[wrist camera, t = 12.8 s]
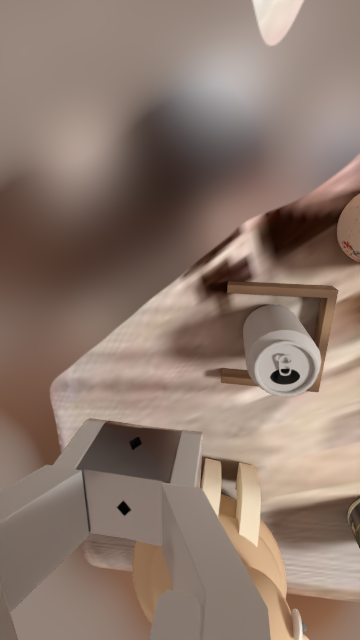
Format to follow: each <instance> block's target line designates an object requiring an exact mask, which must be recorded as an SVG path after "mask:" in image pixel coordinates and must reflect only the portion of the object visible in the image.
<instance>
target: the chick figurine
mask: <svg viewBox="0 0 360 640" xmlns="http://www.w3.org/2000/svg"><path fill="white" fill-rule="evenodd" d="M201 489H203V491H204V493H205V494H206V496H207V498H208V500H209V502H210V504H211V505H212V507H213V509H214V511H215V513H216V515H217V516H218V518H219V520H220V522H221V524H222V525H223V527H224V529H225V531H226V533H227V535H228V536H229V538H230V540H231V542H232V544H233V546H234V547H235V549H236V551H237V553H238V555H239V556H240V558H241V560H242V562H243V564H244V566H245V567H246V569H247V571H248V573H249V575H250V576H251V578H252V580H253V582H254V584H255V586H256V587H257V589H258V591H259V593H260V595H261V597H262V598H263V600H264V602H265V604H266V606H267V607H268V615H269V626H270V636H271V640H309V639H308V638H307V637H306V636H305V635H303V634H302V632H305V631H306V630H307V629H306V625H305V624H304V623H303V622H302V621H301V617H300V613H299V611H298V610H297V609H293V610H292V613H291V611H290V609H289V606H288V604H287V602H286V592H287V587H286V572H285V567H284V562H283V559H282V556H281V553H280V550H279V547H278V545H277V543H276V541H275V539H274V537H273V535H272V533H271V532H270V530H269V529H268V528H267V526H266V525H265V524H264V522H263V521H262V520H261V519H260V507H261V497H260V485H259V480H258V475H257V471H256V468H255V466H253V465H248V464H244V463H240V462H239V466H238V473H237V481H236V488H235V489H236V490H237V500H235V499H233V498H231V497H229V496H226V495H223V494H221V461H216V460H212V459H208V458H206V459H205V465H204V471H203V477H202V483H201ZM132 564H133V580H134V586H135V591H136V594H137V597H138V600H139V603H140V606H141V608H142V610H143V611H144V613H145V615H146V617H147V619H148V620H149V622H150V623H151V624H153V619H154V614H155V610H156V605H157V600H158V597H159V596H161V595H162V594H163V593H164V592H165V591H166V590H167V589H168V590H173V591H174V589H173V586H172V582H171V578H170V575H169V571H168V568H167V564H166V560H165V557H164V553H163V550H162V546H157V545H153V544H148V543H144V542H139V541H136V543H135V546H134V554H133V562H132Z"/></svg>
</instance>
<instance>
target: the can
mask: <svg viewBox="0 0 360 640" xmlns="http://www.w3.org/2000/svg"><path fill="white" fill-rule="evenodd" d="M243 340H244V349H245V357H246V365H247V369H248V373H249V375H250V377H251V378H252V380H253V381H254V383H255V384H257V385H258V386H259V387H260V388H262V389H263V390H265V391H266V392H268V393H270V394H273V395H276V396H283V397H289V396H295V395H298V394H300V393H302V392H305V391H306V390H307V389H308V388H310V387H311V386H312V385H313V383H314V382H315V380H316V378H317V375H318V373H319V371H320V366H321V356H320V351H319V349H318V348H317V346H316V344H315V343H314V341H313V340H312V338H311V337H310V335H309V334H308V333H307V331H306V330H305V328H304V327H303V325H302V324H301V322H300V321H299V320H298V318H297V317H296V315H295V314H294V313H293V312H291V311H290V310H289V309H288V308H285V307H283V306H280V305H266V306H262V307H260V308H258V309H256V310H254V311H253V312H252V313H251V314H250V315H249V316H248V317H247V319H246V321H245V323H244V326H243Z"/></svg>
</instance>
